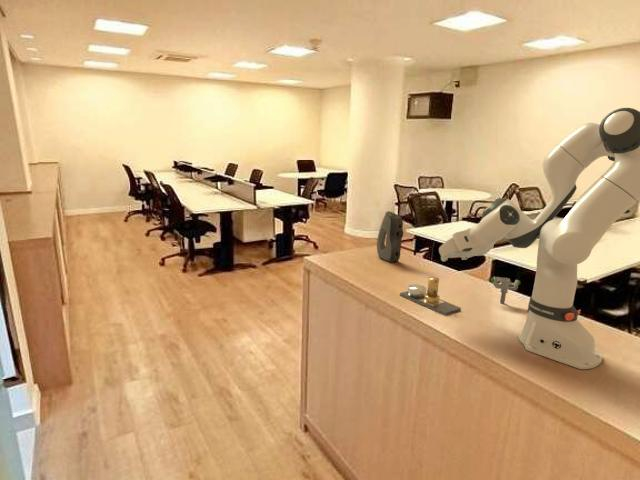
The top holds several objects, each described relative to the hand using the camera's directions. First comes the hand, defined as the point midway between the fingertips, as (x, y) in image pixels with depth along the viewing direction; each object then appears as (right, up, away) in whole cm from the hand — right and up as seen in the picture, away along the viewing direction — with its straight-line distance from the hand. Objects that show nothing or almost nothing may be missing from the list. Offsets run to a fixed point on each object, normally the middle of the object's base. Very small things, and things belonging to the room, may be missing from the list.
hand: (452, 258), depth 150 cm
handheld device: (-14, -4, +62) cm, 64 cm away
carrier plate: (-7, -17, +8) cm, 20 cm away
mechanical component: (+23, -18, +11) cm, 31 cm away
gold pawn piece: (-6, -16, +7) cm, 19 cm away
